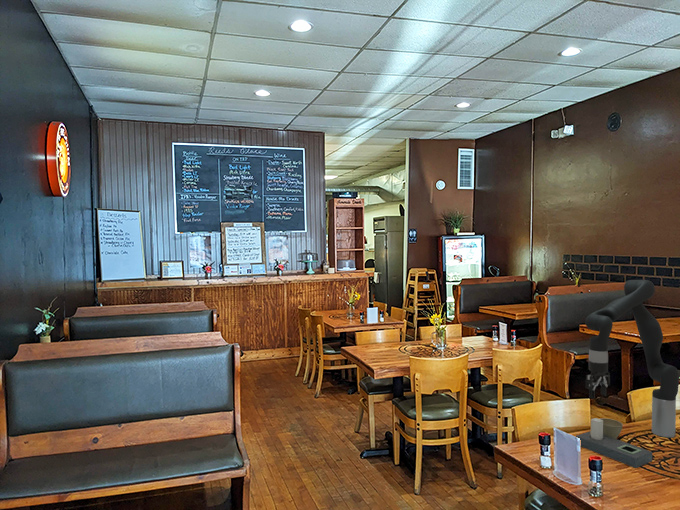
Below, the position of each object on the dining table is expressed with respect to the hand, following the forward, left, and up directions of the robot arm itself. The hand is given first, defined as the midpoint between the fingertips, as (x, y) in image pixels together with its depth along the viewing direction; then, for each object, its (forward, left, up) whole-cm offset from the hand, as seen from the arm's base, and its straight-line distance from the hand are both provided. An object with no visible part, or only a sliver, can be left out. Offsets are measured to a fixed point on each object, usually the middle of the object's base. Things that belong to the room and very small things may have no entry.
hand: (597, 396), depth 211 cm
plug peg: (0, 0, -22) cm, 22 cm away
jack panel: (0, +7, -22) cm, 23 cm away
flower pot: (-15, -3, -22) cm, 27 cm away
